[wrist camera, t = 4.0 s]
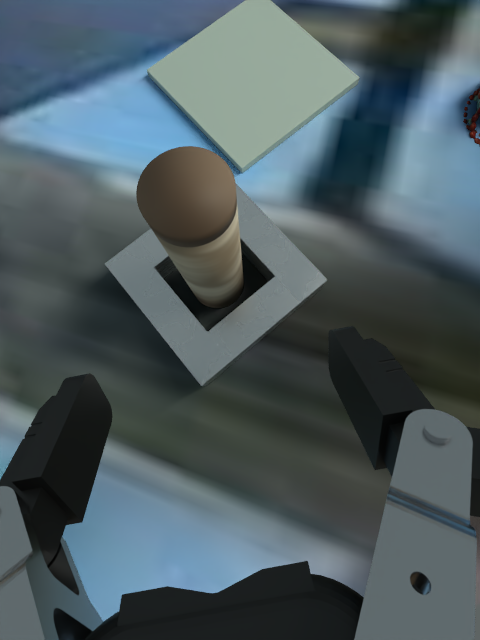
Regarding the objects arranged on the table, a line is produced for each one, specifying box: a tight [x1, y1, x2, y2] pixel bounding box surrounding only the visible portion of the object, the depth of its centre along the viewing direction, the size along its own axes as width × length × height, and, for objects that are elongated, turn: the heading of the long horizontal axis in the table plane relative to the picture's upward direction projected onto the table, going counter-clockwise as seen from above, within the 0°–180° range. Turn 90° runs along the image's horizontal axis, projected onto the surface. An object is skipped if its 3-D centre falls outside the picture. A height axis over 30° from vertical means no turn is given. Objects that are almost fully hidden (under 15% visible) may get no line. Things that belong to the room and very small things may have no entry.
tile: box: [147, 0, 359, 173], centre depth 28 cm, size 13×13×1 cm
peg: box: [136, 146, 244, 308], centre depth 19 cm, size 4×4×12 cm
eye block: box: [105, 183, 327, 386], centre depth 23 cm, size 11×11×2 cm
